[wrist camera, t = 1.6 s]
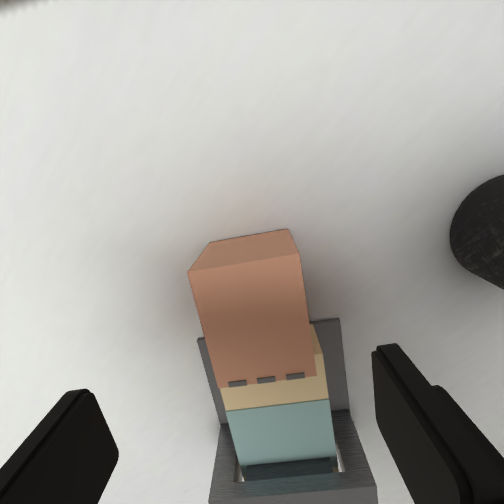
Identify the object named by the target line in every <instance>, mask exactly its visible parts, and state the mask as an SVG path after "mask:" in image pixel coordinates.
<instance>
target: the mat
mask: <svg viewBox="0 0 504 504" xmlns="http://www.w3.org/2000/svg"><path fill="white" fill-rule="evenodd" d="M309 324H313V326H314V329H315V332H316V335H317V338H318V341H319V344H320V347H321V350H322V353H323V360H324V367H325V374H326V382H327V389H328V397H329V403H330V410H331V411H333V410H342V409H349V412H350V408H349V399H348V390H347V381H346V372H345V363H344V354H343V345H342V336H341V327H340V320H339V318H336V319H329V320H322V321H315V322H309ZM197 342H198V345H199V349H200V353H201V356H202V360H203V364H204V367H205V371H206V374H207V378H208V382H209V385H210V389H211V393H212V396H213V400H214V403H215V407H216V411H217V414H218V418H219V422H220V425H221V423H228V419H227V416H226V410H225V406H224V402H223V399H222V395H221V391H220V388H218V386H217V382H216V378H215V375H214V371H213V367H212V363H211V360H210V356H209V352H208V348H207V345H206V341H205V337H204V338H198V340H197Z"/></svg>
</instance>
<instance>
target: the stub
mask: <svg viewBox="0 0 504 504" xmlns="http://www.w3.org/2000/svg"><path fill="white" fill-rule="evenodd" d="M187 273H188V277H189V281H190V285H191V288H192V292H193V296H194V300H195V303H196V307H197V311H198V315H199V318H200V322H201V326H202V330H203V333H204V337H205V341H206V345H207V348H208V352H209V356H210V360H211V363H212V367H213V371H214V375H215V378H216V382H217V386H218V388H226V387H229V388H231V387H239V386H246V385H250V384H262V383H270V382H276V381H281V380H294V379H302V378H305V377H313V376H317V372H316V365H315V358H314V351H313V344H312V337H311V331H310V324H309V317H308V310H307V303H306V296H305V289H304V282H303V276H302V269H301V262H300V255H299V252H298V250H297V247H296V245H295V243H294V241H293V239H292V237H291V234H290V232H289V230H288V229H284V230H278V231H272V232H267V233H261V234H255V235H249V236H244V237H238V238H232V239H227V240H221V241H215V242H210V243H209V244H208V246H207V247H206V248H205V250H204V251H203V252H202V253H201V255H200V256H199V257H198V259H197V260H196V261H195V263H194V264H193V265H192V267H191V268H190V269H189V271H188V272H187Z"/></svg>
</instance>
